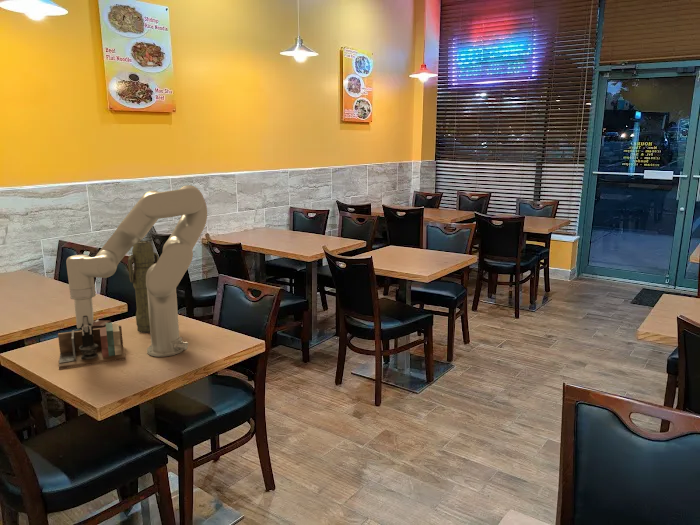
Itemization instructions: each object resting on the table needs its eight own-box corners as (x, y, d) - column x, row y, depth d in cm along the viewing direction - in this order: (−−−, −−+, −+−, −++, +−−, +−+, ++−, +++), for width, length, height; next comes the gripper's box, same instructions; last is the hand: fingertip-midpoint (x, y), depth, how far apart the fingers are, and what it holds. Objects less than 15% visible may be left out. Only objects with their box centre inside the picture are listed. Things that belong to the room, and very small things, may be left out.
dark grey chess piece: (103, 354, 185) (100, 321, 182) (89, 360, 180) (86, 326, 177) (89, 352, 187) (86, 319, 184) (75, 358, 181) (72, 324, 179)
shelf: (123, 346, 195) (120, 319, 193) (125, 359, 184) (122, 331, 182) (60, 355, 187) (57, 327, 185) (59, 369, 175) (55, 340, 173)
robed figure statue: (168, 327, 216) (162, 240, 208) (143, 335, 206) (135, 245, 198) (154, 322, 220) (148, 238, 213) (129, 331, 211) (121, 242, 203)
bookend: (76, 351, 187) (74, 330, 186) (76, 361, 179) (73, 338, 178) (60, 354, 185) (57, 332, 183) (59, 363, 177) (56, 340, 176)
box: (105, 344, 197) (103, 325, 195) (89, 344, 197) (87, 325, 195) (113, 338, 203) (111, 320, 201) (97, 338, 203) (95, 320, 201)
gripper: (70, 287, 184) (76, 334, 188) (69, 300, 169) (75, 351, 173) (94, 284, 188) (99, 331, 191) (95, 297, 172) (101, 348, 176)
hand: (88, 341), depth 182 cm, fingers open, 9 cm apart
